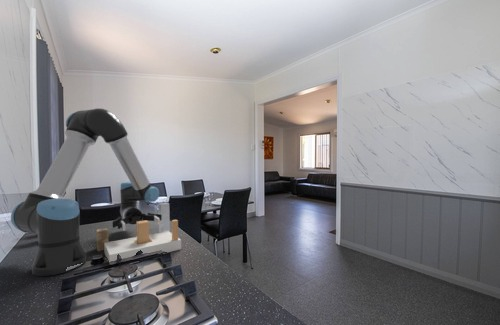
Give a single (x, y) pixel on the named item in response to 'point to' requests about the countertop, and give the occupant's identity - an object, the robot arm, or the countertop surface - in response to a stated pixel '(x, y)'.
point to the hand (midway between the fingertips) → (142, 224)
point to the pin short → (101, 238)
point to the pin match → (142, 232)
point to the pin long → (164, 217)
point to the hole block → (144, 244)
